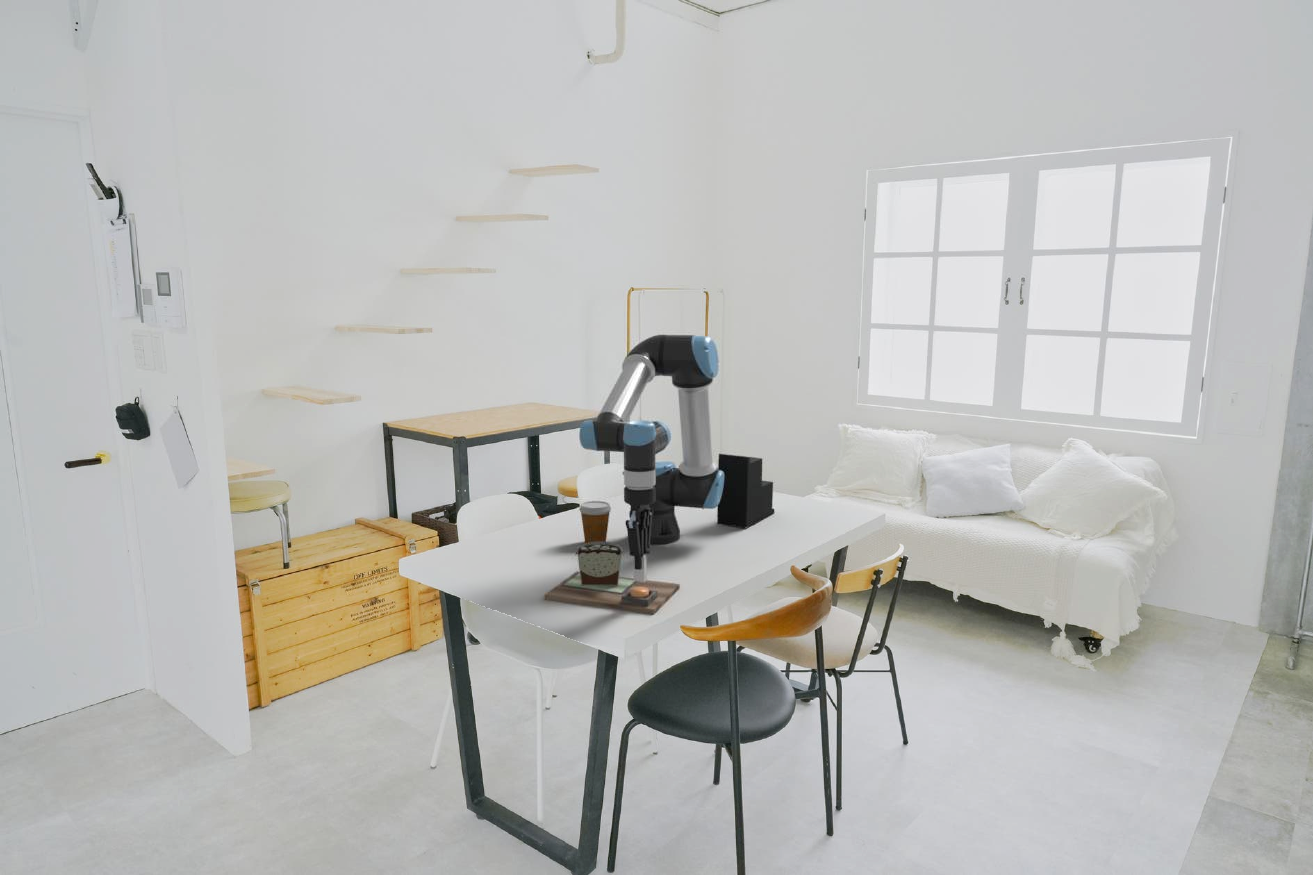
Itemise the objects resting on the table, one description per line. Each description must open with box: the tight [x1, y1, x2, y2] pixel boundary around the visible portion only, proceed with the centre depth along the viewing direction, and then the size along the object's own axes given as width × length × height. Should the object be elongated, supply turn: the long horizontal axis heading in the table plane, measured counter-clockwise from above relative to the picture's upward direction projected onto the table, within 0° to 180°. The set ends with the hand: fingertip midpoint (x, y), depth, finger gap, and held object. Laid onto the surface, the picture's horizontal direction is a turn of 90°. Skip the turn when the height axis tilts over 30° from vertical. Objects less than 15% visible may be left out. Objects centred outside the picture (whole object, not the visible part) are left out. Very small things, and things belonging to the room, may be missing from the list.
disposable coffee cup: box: [578, 500, 612, 543], centre depth 263 cm, size 10×10×12 cm
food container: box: [574, 541, 625, 586], centre depth 225 cm, size 12×6×10 cm, turn 89°
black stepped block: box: [716, 453, 775, 529], centre depth 291 cm, size 23×11×24 cm, turn 149°
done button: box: [631, 587, 649, 599], centre depth 213 cm, size 4×4×2 cm
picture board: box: [544, 570, 681, 615], centre depth 221 cm, size 19×29×3 cm, turn 70°
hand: (640, 580), depth 213 cm, fingers closed
